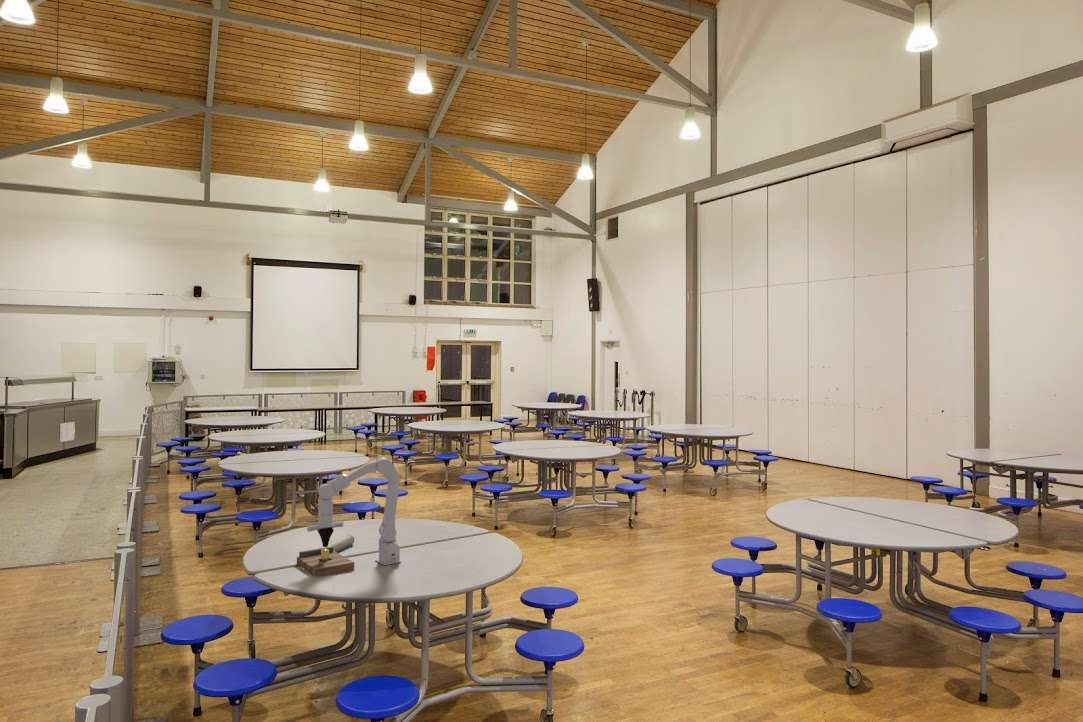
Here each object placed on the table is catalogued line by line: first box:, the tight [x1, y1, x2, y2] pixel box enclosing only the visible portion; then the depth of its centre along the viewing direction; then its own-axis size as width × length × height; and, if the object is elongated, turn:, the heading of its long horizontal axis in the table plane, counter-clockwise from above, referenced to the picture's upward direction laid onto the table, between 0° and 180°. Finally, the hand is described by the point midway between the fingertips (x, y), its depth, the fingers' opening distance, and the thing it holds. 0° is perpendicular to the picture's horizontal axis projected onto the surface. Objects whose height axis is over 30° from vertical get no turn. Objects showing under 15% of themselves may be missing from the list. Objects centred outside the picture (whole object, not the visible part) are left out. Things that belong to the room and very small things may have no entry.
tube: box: [317, 533, 355, 553], centre depth 299 cm, size 5×5×25 cm
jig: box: [296, 547, 355, 577], centre depth 276 cm, size 22×16×5 cm
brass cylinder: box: [321, 549, 329, 562], centre depth 276 cm, size 3×3×7 cm
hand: (325, 546), depth 276 cm, fingers closed
